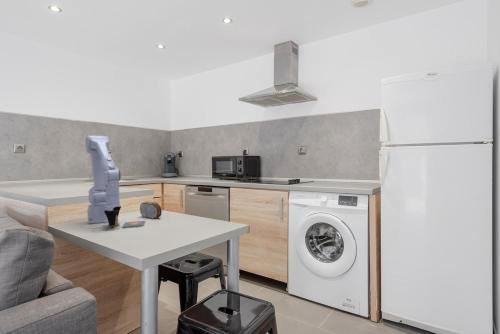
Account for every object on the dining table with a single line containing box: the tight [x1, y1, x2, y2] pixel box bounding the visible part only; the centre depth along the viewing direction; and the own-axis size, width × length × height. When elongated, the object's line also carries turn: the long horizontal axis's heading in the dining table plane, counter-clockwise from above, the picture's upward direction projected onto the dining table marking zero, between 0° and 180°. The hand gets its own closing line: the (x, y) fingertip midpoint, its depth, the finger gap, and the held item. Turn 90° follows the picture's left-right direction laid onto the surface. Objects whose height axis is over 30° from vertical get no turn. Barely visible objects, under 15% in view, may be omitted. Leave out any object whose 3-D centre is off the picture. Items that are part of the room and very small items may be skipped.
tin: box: [139, 201, 162, 220], centre depth 151 cm, size 15×3×8 cm, turn 58°
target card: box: [122, 220, 146, 229], centre depth 134 cm, size 9×10×1 cm
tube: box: [108, 215, 119, 229], centre depth 132 cm, size 4×4×5 cm
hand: (113, 223), depth 132 cm, fingers open, 7 cm apart
